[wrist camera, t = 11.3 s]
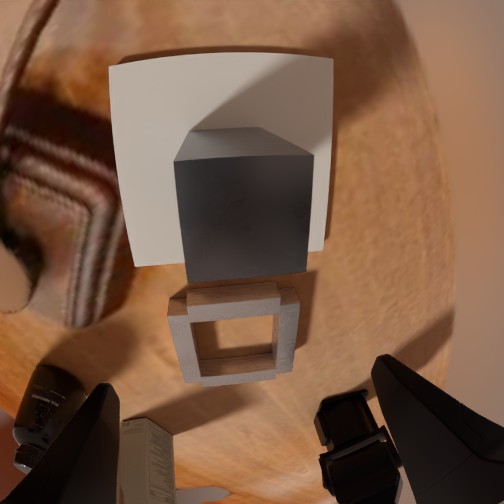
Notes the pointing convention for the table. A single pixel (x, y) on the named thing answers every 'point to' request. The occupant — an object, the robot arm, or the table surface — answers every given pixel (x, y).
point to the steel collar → (232, 307)
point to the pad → (211, 117)
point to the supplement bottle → (44, 413)
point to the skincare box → (145, 464)
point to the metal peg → (243, 204)
